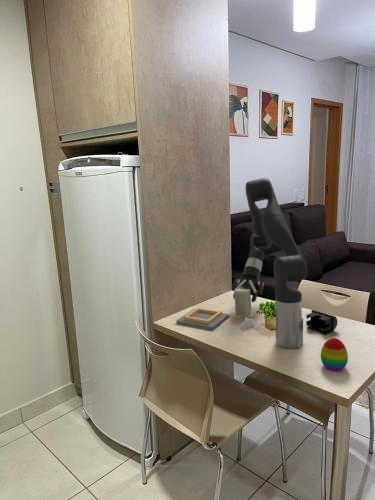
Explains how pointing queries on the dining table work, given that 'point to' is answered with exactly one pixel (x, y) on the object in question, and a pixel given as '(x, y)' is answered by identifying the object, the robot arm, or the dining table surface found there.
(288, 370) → the dining table surface
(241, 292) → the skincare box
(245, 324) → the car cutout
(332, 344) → the decorative egg
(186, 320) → the grey wood framed tray
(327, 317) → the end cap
